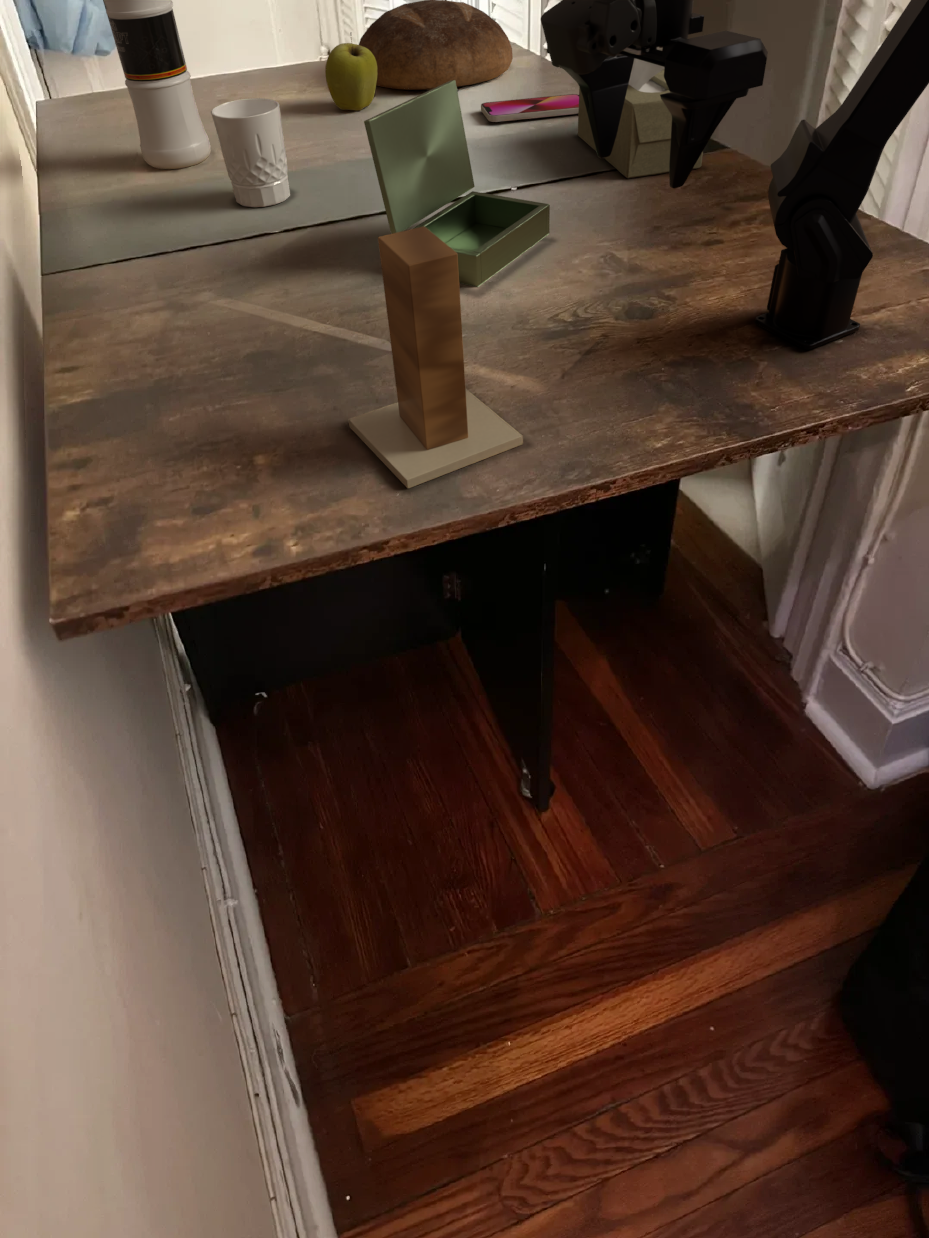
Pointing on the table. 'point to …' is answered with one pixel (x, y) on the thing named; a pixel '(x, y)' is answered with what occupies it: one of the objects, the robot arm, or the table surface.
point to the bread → (436, 45)
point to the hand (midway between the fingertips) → (638, 171)
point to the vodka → (158, 83)
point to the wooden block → (425, 334)
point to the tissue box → (639, 125)
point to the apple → (351, 76)
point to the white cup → (253, 150)
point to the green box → (489, 232)
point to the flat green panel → (420, 155)
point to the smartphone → (531, 107)
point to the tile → (422, 465)
